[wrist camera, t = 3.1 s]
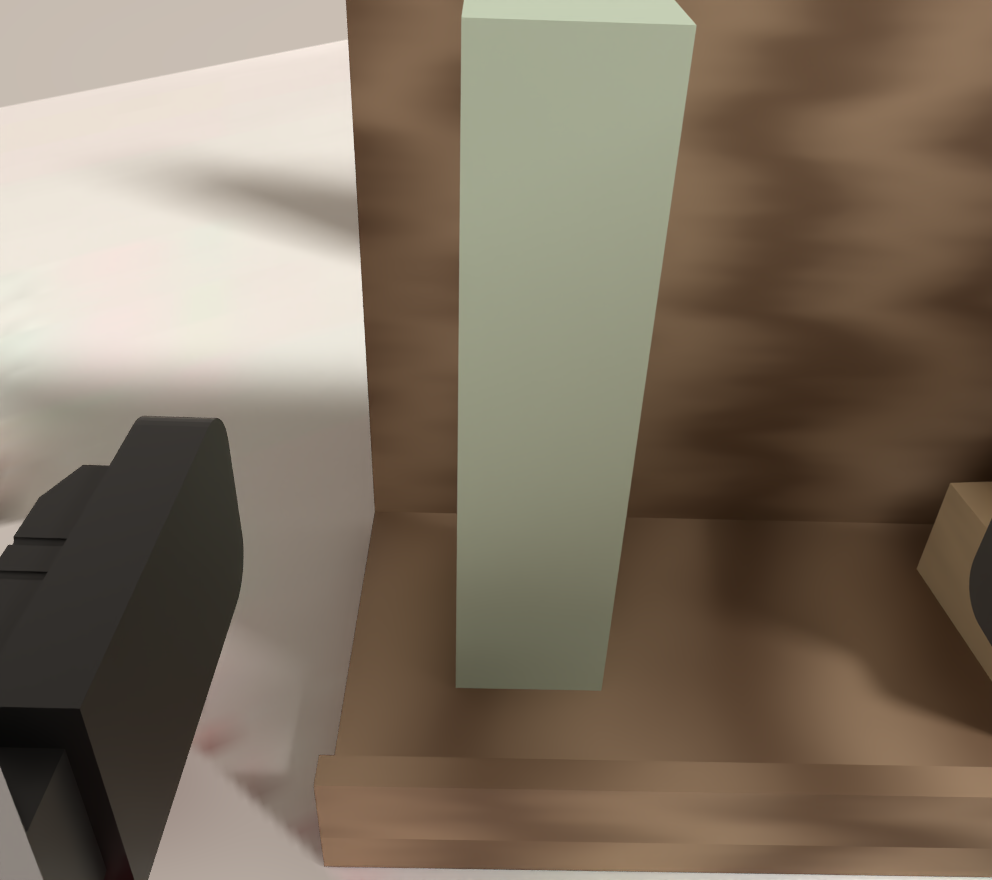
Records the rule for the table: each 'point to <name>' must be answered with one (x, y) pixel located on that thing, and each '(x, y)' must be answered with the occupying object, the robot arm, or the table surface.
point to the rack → (703, 474)
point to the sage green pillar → (556, 317)
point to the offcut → (959, 559)
